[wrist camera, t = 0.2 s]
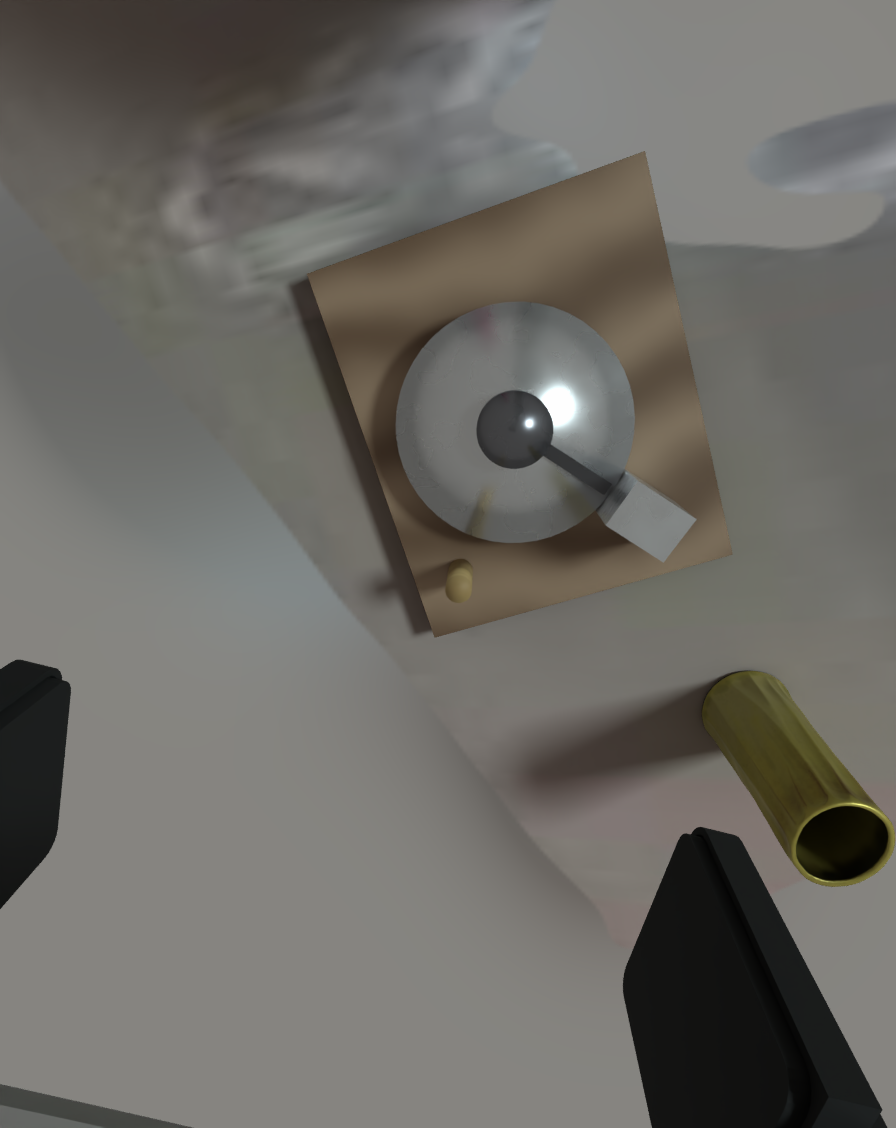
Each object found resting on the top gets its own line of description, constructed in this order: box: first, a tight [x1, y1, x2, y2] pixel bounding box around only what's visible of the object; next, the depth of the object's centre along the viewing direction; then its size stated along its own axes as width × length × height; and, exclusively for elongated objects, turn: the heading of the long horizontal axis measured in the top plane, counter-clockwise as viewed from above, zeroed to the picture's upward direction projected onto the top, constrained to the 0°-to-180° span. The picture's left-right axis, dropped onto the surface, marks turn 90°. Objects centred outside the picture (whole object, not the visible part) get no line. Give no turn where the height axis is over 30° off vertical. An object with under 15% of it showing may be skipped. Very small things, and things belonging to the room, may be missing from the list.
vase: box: [702, 671, 895, 887], centre depth 43 cm, size 6×6×14 cm
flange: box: [396, 302, 697, 563], centre depth 41 cm, size 18×14×5 cm
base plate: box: [307, 151, 733, 637], centre depth 42 cm, size 24×20×6 cm
